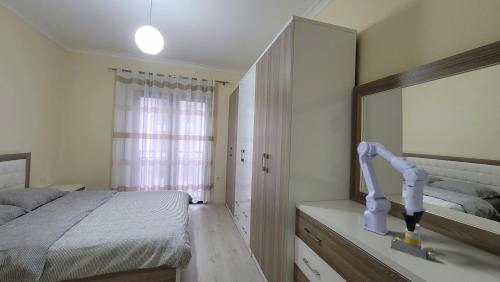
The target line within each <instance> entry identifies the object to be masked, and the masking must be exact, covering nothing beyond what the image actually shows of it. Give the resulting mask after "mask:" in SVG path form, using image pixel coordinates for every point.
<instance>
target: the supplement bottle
mask: <svg viewBox="0 0 500 282" xmlns="http://www.w3.org/2000/svg"><path fill="white" fill-rule="evenodd" d="M422 233H423V232H422V231H421V224H420V223H419V224H416V227H415V231H414V232H411V231H408V230H407V227H405V232H404V236H405V237H404V241H405V242H408V243H411V244H414V245H418V246H421V247H422V237H423V236H422V235H423V234H422Z"/></svg>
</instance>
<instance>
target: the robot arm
mask: <svg viewBox="0 0 500 282" xmlns="http://www.w3.org/2000/svg"><path fill="white" fill-rule="evenodd" d="M357 153H358V157H359V159H358V160H359V161H358V162H359V165H360V168H361V170H362V174H363V178H364V180H365V184H366V188H367V190H368V194H367V195H366V196H365V199H366V205H365V206H366V209H365V211H364V214H363V226H362V229H364V230H367V231H369V232H372V233H376V234H380V235H383V236H385V235H386V234H387V233H389V232H390V230H389V229H387V224H388V223H387V221H388V213H389V211H390V210H391V208H392V204H391V202H390V200H389V198H388V196H387V195H386V194H385V193H383V192H382V189H381V186H380V184H379V180H378V177H377V174H376V171H375V167H374V165H373V160H375V158H376V157H377V156H378V155H379V156H381V157H382V158H383V159H385V160H386V161H388V162H390V163H391V167H392V168H393V169H395V170H397V172H399V173H400V174H401V175H402V176H403V178H404V180H405V185H406V187H405V201H404V202H405V204H404V209H405V210H406V211H403V212H402V217H403V219H404V221H405V225H406V228H407V230H408V231H411V232H414V231H415V227H416V224H419V225H420V221H421V219H422V216H423V215H424V213H425V212H426V211H427V208H424V188H425V186H424V184H425V181H426V180H427V179H428V176H429V175H428V172H427V170H426V169H425V168H424V167H420V166H419V167H417V165H416V164H415V163H412V162H411V161H408V160H407V157H405V156H396V155H395V154H393V153H392V152H391V151H390V150H388V149H387V148H385V147H384V145H383V144H381V143H379V142H378V141H376V142H371V141H370V142H369V141H368V142H367V141H362V142H360V143H359V144H358V146H357Z"/></svg>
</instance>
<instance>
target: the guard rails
mask: <svg viewBox="0 0 500 282" xmlns="http://www.w3.org/2000/svg"><path fill="white" fill-rule="evenodd" d="M395 238H396V239H398V240H401V238H400V237H398V236H396V237H395ZM425 248H427V249H428V250H427V251H429V252H433V251H434V248H433V247H431V246H429V247H427V246H426V247H425Z"/></svg>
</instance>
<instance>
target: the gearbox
mask: <svg viewBox="0 0 500 282" xmlns="http://www.w3.org/2000/svg"><path fill="white" fill-rule="evenodd" d="M390 242H391V243H390V248H391V249H393V250H396V251H399V252H402V253H405V254H408V255H411V256H413V257H417V258H420V259H423V260H427V258H430V259H433V260H436V253H434V252H433V251H427V250H428V249H427V248H426V247H425V246H422V245H421V246H418V245H414V244H411V243H408V242H405V240H401V239H400V240H398V239H396V237H394V238H392V239H391V241H390Z"/></svg>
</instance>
